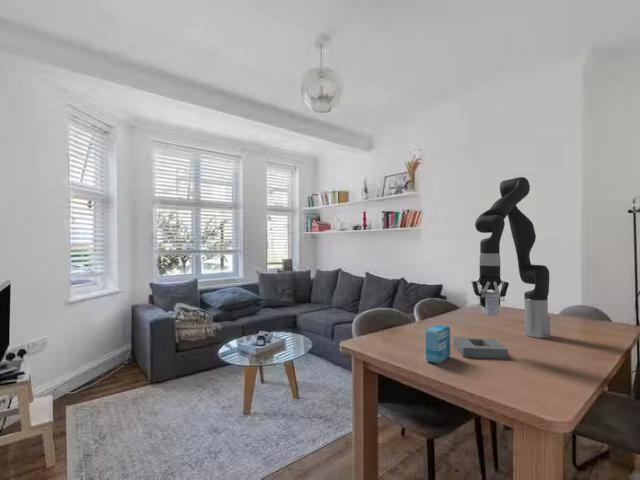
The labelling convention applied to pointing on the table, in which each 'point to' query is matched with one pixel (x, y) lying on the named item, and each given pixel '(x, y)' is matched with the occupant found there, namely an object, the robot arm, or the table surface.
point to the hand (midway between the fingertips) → (489, 306)
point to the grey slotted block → (480, 347)
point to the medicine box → (491, 304)
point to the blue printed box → (437, 344)
